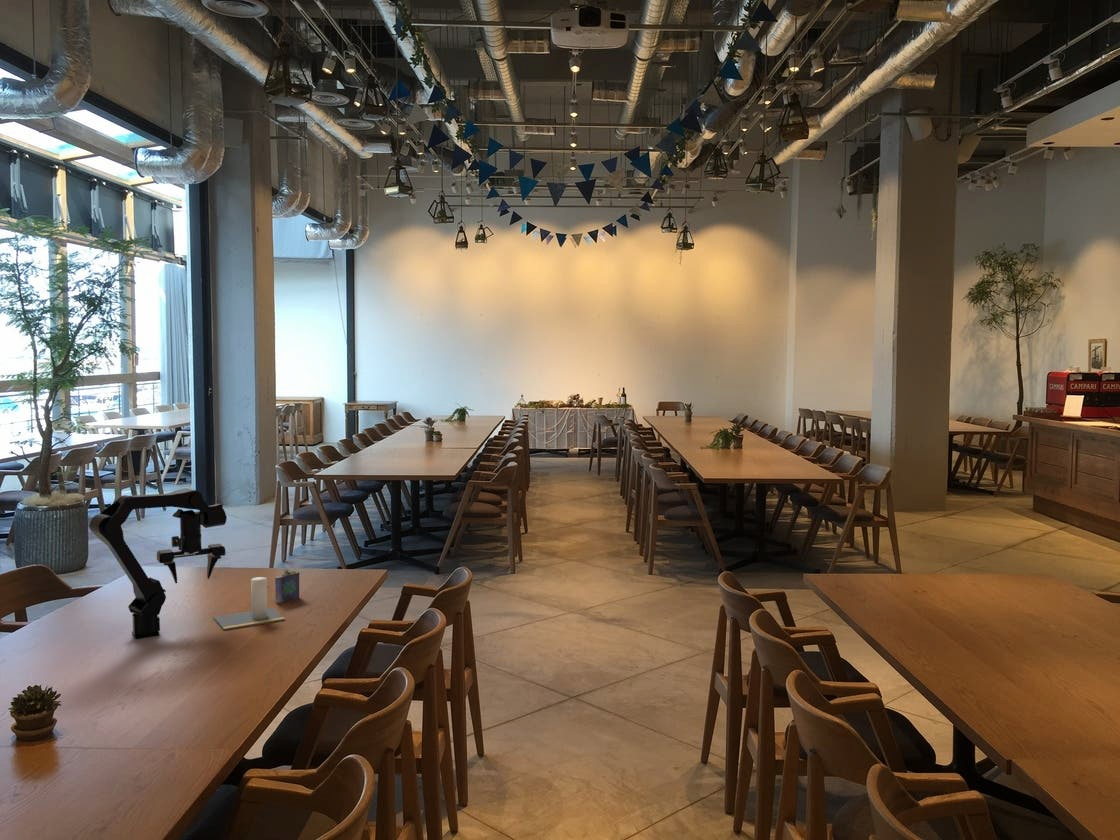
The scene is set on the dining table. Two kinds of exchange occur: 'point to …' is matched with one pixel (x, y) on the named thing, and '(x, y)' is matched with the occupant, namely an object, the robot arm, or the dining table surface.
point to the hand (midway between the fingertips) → (192, 580)
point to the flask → (287, 587)
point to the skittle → (259, 597)
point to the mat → (246, 619)
